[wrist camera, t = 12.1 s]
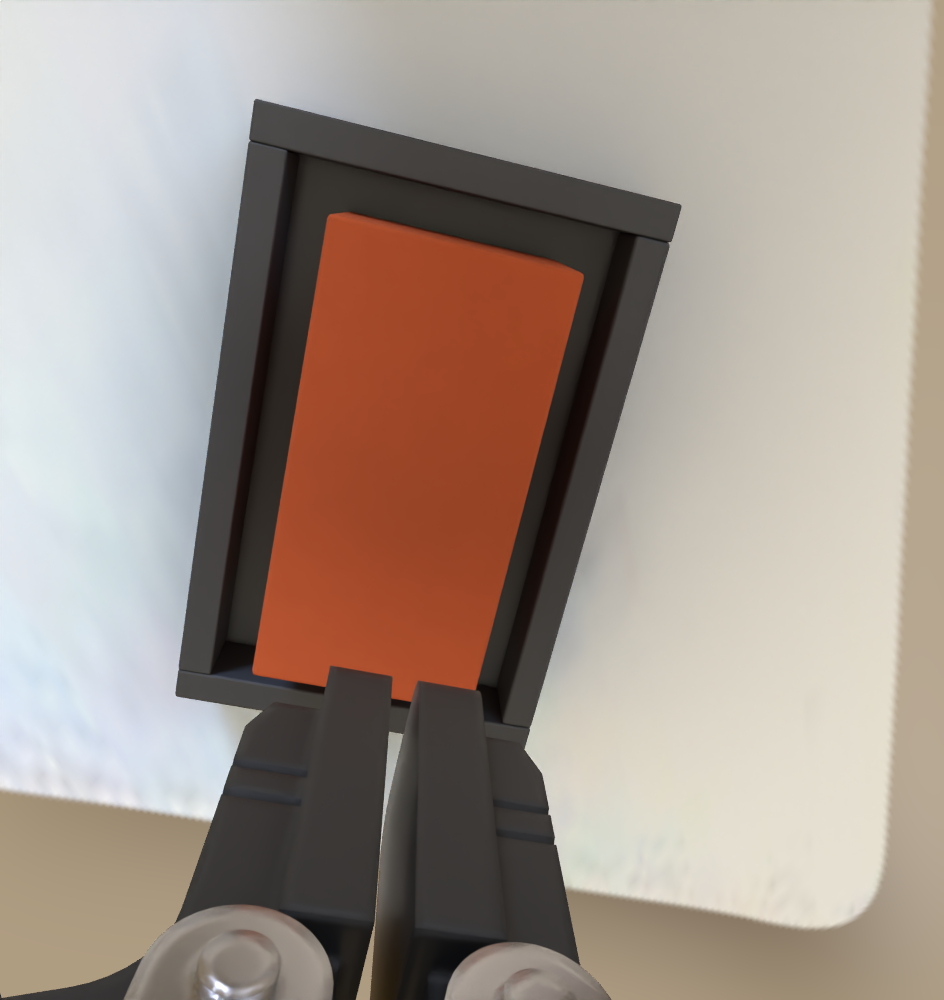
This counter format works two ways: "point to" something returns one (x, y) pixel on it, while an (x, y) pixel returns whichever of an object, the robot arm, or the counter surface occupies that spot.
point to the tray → (280, 354)
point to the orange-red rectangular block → (410, 452)
